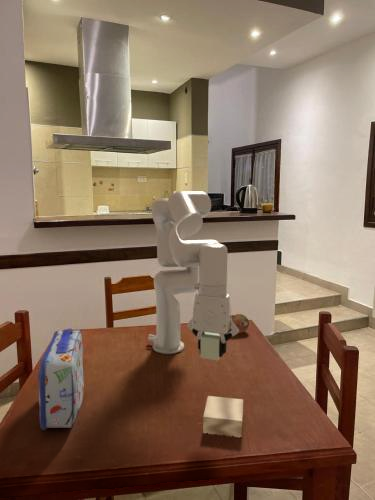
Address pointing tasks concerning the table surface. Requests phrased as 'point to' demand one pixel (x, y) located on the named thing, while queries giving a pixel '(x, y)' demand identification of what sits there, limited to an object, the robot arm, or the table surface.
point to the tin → (240, 322)
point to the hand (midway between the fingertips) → (212, 352)
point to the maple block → (223, 416)
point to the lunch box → (61, 380)
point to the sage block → (210, 346)
